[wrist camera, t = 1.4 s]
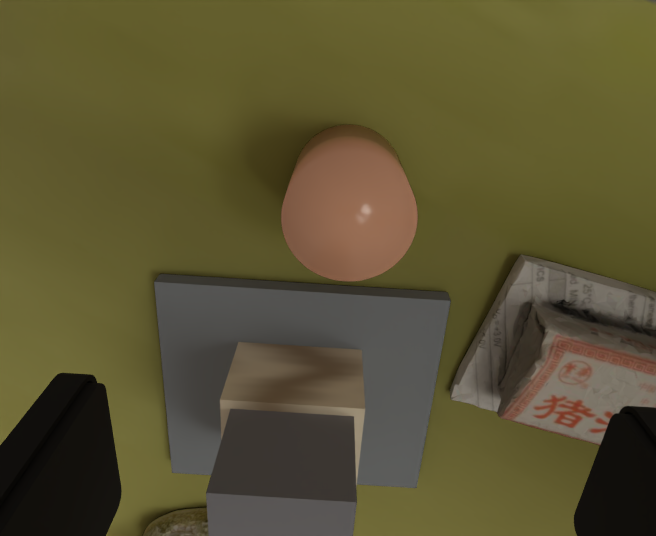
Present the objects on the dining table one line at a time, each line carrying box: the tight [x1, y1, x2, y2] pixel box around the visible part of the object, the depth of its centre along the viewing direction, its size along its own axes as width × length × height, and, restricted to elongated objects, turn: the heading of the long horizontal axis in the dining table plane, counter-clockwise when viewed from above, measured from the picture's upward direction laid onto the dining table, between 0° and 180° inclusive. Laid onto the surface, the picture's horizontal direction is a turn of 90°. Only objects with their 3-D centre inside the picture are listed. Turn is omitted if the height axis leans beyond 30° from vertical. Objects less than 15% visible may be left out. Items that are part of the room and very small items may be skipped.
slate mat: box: [154, 274, 451, 488], centre depth 31 cm, size 16×14×1 cm
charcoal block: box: [206, 409, 357, 536], centre depth 24 cm, size 6×6×5 cm
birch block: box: [220, 342, 365, 486], centre depth 29 cm, size 7×7×5 cm
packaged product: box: [450, 255, 656, 445], centre depth 29 cm, size 18×5×10 cm
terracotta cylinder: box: [281, 125, 418, 281], centre depth 24 cm, size 6×6×6 cm
